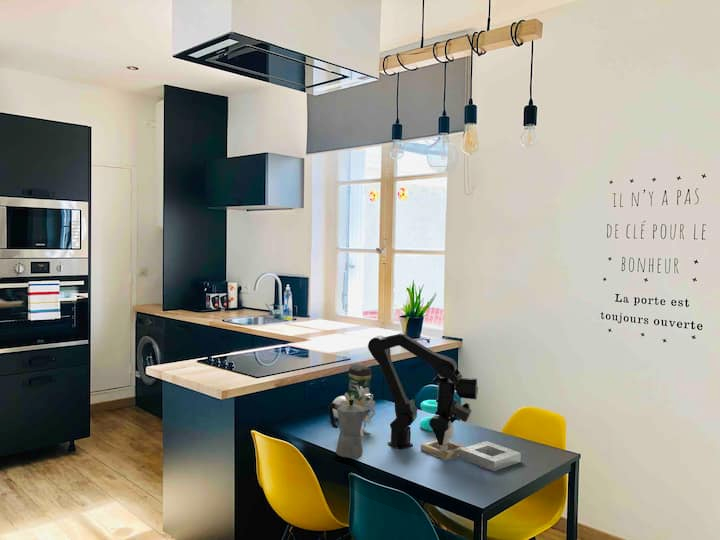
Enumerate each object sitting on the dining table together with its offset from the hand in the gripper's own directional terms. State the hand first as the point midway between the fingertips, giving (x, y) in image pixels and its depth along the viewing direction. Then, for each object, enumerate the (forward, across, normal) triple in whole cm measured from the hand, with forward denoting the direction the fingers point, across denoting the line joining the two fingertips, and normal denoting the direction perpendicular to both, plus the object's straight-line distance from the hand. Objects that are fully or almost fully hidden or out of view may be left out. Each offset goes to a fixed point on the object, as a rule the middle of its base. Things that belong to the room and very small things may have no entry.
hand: (444, 441), depth 200 cm
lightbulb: (+4, 0, 0) cm, 4 cm away
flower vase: (+4, +10, +39) cm, 40 cm away
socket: (+4, 0, -16) cm, 16 cm away
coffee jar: (+4, +34, +45) cm, 56 cm away
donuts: (+4, +24, +10) cm, 26 cm away
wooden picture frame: (+4, 0, 0) cm, 4 cm away
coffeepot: (+4, -16, +29) cm, 33 cm away
